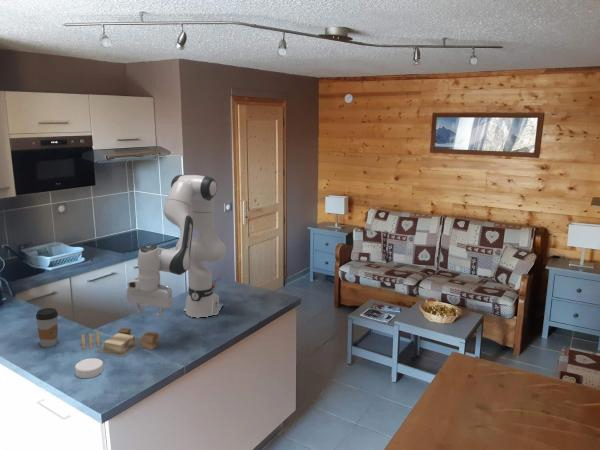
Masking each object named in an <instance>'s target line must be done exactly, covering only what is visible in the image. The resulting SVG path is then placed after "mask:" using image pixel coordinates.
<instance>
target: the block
mask: <svg viewBox="0 0 600 450" xmlns="http://www.w3.org/2000/svg"><path fill="white" fill-rule="evenodd" d="M131 331H132V330H131V327H130V328H129V327H121V328H120V329H119V330H118V333H122V334H128V335H132V332H131ZM118 333H117V334H118Z"/></svg>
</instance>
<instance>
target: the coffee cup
mask: <svg viewBox="0 0 600 450" xmlns="http://www.w3.org/2000/svg"><path fill="white" fill-rule="evenodd" d="M58 316H59V314H58V311H57V309H56V308H53V307H46V308H41V309H39V310H37V311H36V314H35V319H36V324H37V325H36V326H37V331H38V332H37V333H38V338H39V345H40V346H41V347H42V348H52V347H54V346H56V345H57V343H58V333H59V332H58V326H59V325H58Z"/></svg>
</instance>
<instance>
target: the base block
mask: <svg viewBox="0 0 600 450" xmlns="http://www.w3.org/2000/svg"><path fill="white" fill-rule="evenodd" d="M133 345H135V335H133V334H131V335H128V334H122V333H116V334H114V335H113V336H111V337H110V338H108V339H107V340H105V341H104V342H103V346H104V351H105V352H110V353H115V354H120V355H121V354H122V353H123V352H125V351H126V350H128V349H129V348H131V347H132V346H133Z"/></svg>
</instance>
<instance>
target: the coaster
mask: <svg viewBox="0 0 600 450" xmlns="http://www.w3.org/2000/svg"><path fill="white" fill-rule="evenodd" d="M103 370H104V361H103V360H101V359H99V358H94V357H93V358H86V359H85V358H84V359H82V360H80V361H78V362H77V363H76V364H75V366H74V374H75V375H76V377H78V378H80V379H91V378H95V377H97V376H99V375H100V374H102V371H103Z"/></svg>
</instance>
